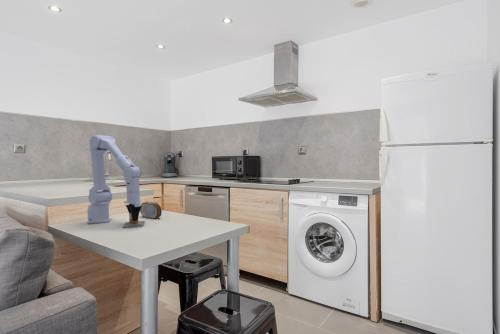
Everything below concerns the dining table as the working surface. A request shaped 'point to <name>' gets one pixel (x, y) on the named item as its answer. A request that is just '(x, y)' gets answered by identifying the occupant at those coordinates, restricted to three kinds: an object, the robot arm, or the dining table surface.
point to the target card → (128, 225)
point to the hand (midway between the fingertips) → (134, 219)
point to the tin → (150, 210)
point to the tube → (132, 220)
